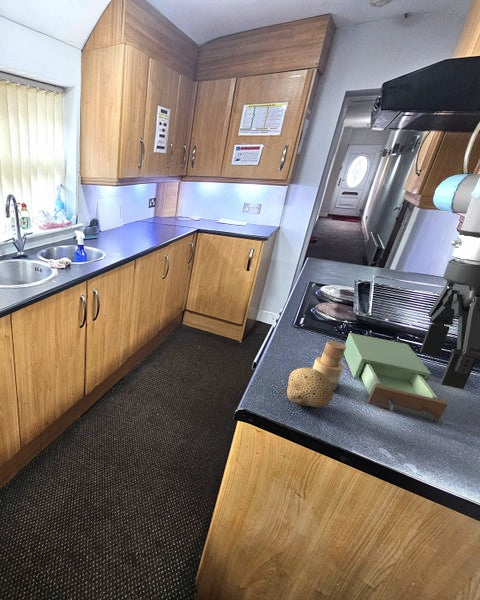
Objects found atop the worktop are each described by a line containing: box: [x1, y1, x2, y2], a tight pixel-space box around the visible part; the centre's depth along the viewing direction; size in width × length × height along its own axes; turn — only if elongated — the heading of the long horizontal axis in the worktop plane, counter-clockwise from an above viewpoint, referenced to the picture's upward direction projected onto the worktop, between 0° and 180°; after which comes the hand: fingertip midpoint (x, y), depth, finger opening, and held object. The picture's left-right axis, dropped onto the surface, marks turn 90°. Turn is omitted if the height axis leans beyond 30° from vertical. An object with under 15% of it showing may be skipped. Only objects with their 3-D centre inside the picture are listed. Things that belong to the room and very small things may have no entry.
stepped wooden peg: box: [312, 340, 346, 392], centre depth 85 cm, size 6×6×12 cm
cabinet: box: [343, 332, 432, 383], centre depth 92 cm, size 17×14×7 cm
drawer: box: [360, 362, 449, 423], centre depth 80 cm, size 20×13×5 cm, turn 152°
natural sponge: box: [286, 367, 334, 408], centre depth 78 cm, size 9×9×10 cm
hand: (439, 368), depth 63 cm, fingers open, 13 cm apart
